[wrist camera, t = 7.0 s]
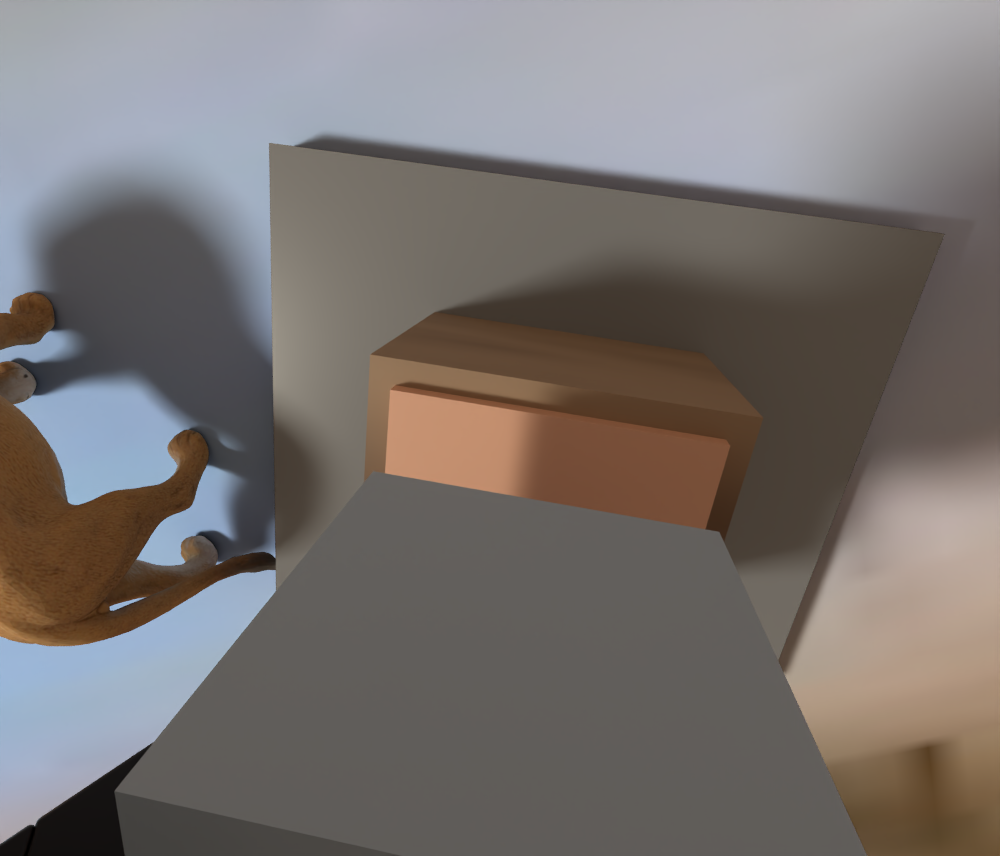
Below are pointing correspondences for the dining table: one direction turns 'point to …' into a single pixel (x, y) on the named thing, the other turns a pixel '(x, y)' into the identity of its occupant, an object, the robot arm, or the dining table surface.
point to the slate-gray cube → (492, 699)
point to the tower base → (593, 279)
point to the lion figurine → (86, 525)
